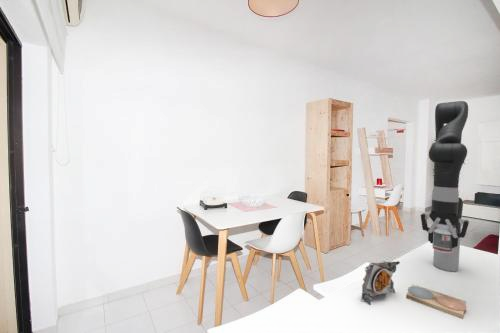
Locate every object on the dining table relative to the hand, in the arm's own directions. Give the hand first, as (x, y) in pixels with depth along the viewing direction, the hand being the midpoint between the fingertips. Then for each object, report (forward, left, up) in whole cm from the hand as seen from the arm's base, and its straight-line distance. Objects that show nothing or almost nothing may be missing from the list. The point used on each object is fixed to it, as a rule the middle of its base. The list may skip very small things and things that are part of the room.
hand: (442, 244), depth 90 cm
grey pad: (+3, -5, -19) cm, 20 cm away
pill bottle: (0, 0, -2) cm, 2 cm away
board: (+3, -1, -20) cm, 21 cm away
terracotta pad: (+3, +4, -19) cm, 20 cm away
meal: (+14, -16, -21) cm, 30 cm away
